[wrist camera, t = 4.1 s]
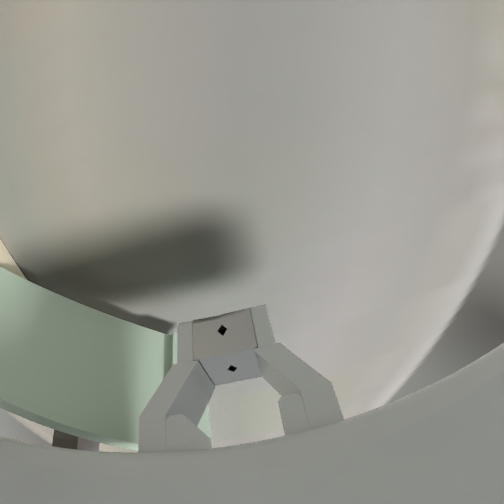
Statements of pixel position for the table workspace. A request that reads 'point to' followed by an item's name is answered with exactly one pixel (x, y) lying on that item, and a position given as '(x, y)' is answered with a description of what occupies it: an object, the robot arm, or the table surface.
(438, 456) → the robot arm
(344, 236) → the table surface
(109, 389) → the gate panel
